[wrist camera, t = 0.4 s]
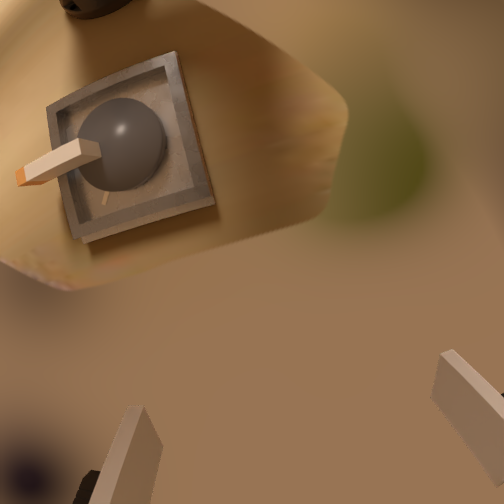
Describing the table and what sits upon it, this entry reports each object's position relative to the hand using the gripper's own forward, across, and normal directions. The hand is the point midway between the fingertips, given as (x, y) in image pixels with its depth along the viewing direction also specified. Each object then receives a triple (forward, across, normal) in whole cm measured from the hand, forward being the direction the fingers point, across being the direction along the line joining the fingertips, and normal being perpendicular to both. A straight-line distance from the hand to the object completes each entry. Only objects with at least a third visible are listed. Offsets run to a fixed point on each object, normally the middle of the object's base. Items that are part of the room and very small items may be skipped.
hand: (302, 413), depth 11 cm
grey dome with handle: (+26, -17, +16) cm, 35 cm away
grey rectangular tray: (+27, -14, +16) cm, 34 cm away
